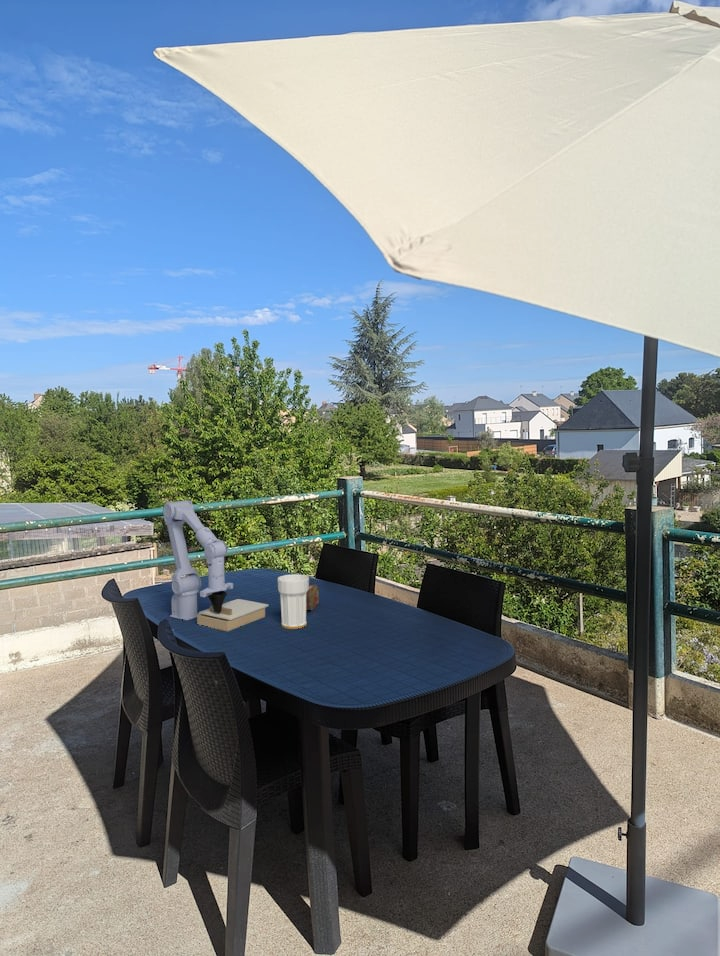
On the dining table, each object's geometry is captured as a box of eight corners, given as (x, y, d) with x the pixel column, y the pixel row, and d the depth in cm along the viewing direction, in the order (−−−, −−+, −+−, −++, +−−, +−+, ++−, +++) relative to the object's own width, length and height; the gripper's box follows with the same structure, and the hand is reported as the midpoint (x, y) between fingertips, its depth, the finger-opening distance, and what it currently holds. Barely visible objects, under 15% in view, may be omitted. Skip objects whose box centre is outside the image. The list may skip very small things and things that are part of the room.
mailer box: (197, 624, 239) (197, 615, 239) (235, 610, 256) (235, 602, 256) (227, 631, 231) (227, 621, 231) (265, 616, 248) (264, 607, 247)
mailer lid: (199, 613, 240) (198, 606, 240) (238, 600, 257) (237, 593, 257) (230, 620, 232) (230, 613, 231) (268, 606, 249) (268, 599, 248)
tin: (310, 613, 252) (309, 591, 251) (302, 613, 253) (301, 591, 252) (320, 602, 267) (319, 582, 266) (312, 602, 267) (312, 581, 266)
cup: (271, 625, 237) (270, 578, 236) (295, 618, 246) (294, 572, 244) (292, 632, 230) (291, 583, 228) (316, 624, 238) (315, 577, 236)
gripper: (209, 580, 228) (210, 619, 229) (238, 572, 240) (239, 608, 241) (195, 578, 231) (196, 615, 233) (224, 570, 243) (225, 605, 245)
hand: (217, 612), depth 237 cm, fingers closed
